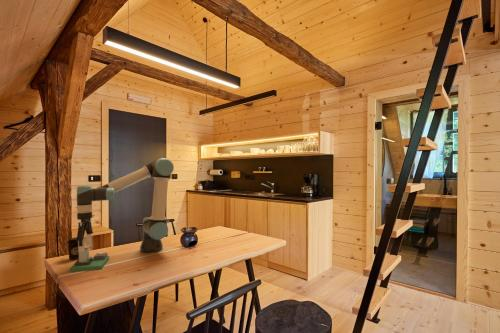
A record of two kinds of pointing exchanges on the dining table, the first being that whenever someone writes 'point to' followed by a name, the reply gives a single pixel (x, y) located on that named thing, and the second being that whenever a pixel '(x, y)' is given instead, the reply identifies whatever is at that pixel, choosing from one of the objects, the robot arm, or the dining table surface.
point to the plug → (84, 255)
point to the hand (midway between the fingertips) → (85, 248)
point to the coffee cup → (73, 249)
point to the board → (91, 263)
